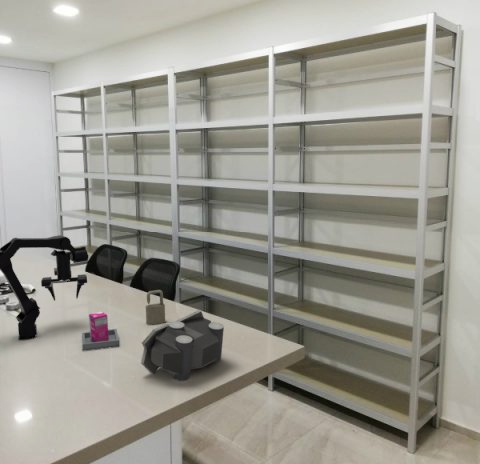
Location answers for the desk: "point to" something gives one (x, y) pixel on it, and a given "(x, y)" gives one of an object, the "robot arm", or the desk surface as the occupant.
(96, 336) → the supplement box
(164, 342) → the electronic device
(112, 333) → the tray
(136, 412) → the desk surface
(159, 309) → the padlock
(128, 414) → the desk surface
